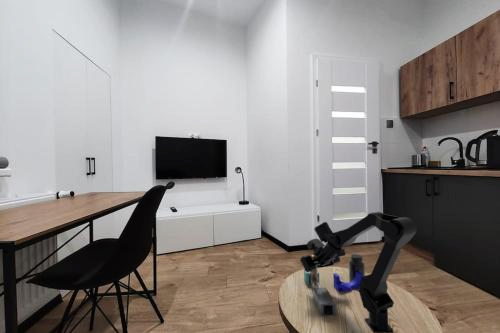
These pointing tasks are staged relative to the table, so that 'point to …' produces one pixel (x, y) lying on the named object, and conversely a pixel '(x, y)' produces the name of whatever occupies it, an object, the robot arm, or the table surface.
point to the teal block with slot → (306, 277)
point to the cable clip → (347, 286)
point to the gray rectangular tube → (324, 302)
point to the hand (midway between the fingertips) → (311, 268)
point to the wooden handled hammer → (314, 275)
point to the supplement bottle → (356, 266)
